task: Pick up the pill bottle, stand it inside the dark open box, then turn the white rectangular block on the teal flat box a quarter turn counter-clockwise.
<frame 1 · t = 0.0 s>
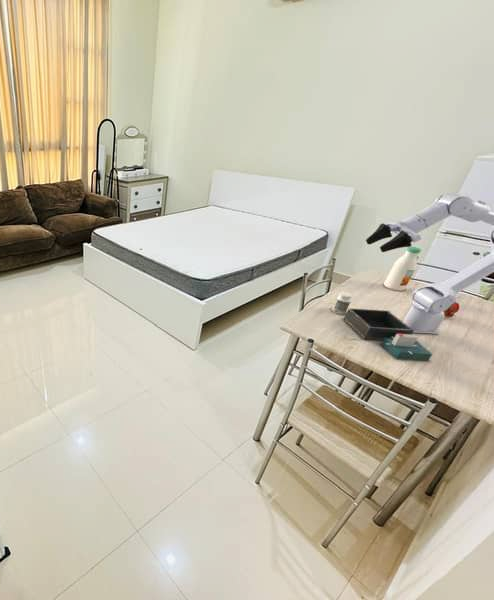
hand: (373, 246, 111), 32 cm above the table, tool tilted 50°, fingers open, 7 cm apart
white rectangular block: (404, 340, 109), point 5 cm above the table, hinge at 0.0°
teal flat box: (403, 352, 111), on the table
dark open box: (373, 330, 122), on the table
milk bottle: (393, 287, 154), on the table
dragon fruit: (438, 314, 133), on the table
pill bottle: (338, 311, 134), on the table
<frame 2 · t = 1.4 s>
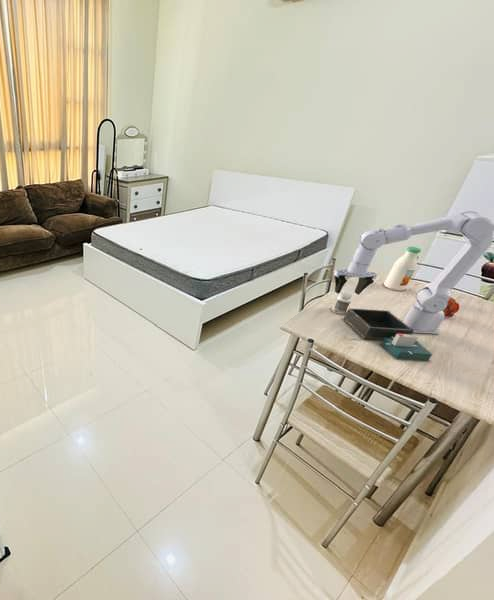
hand: (346, 292, 130), 9 cm above the table, tool pointing down, fingers open, 7 cm apart
nothing on the table moved.
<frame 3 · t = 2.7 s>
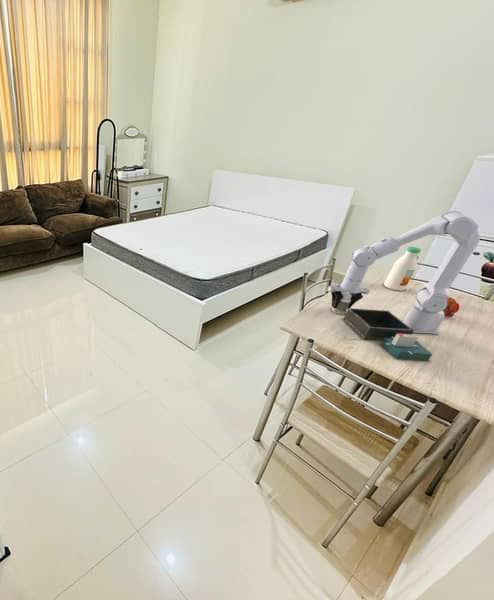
hand: (340, 307, 133), 2 cm above the table, tool pointing down, fingers closed on pill bottle, 5 cm apart
pill bottle: (338, 311, 134), on the table, touching gripper
everything else where it was.
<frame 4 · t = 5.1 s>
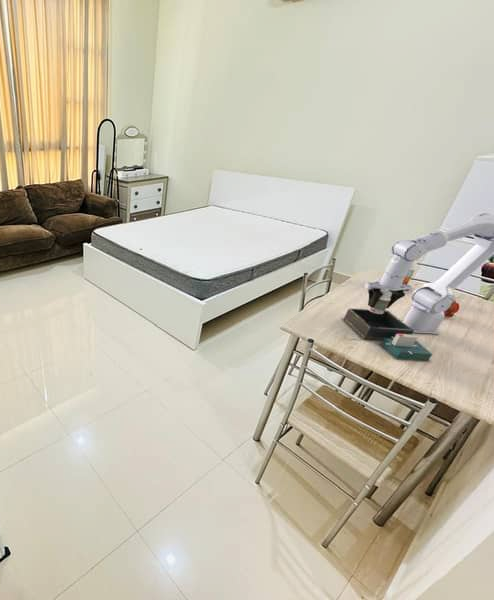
hand: (378, 306, 120), 9 cm above the table, tool pointing down, fingers closed on pill bottle, 5 cm apart
pill bottle: (375, 311, 121), point 7 cm above the table, touching gripper
everything else where it was.
when the fingers open (3 cm above the table, at t = 7.4 s): pill bottle stays where it is, resting on dark open box.
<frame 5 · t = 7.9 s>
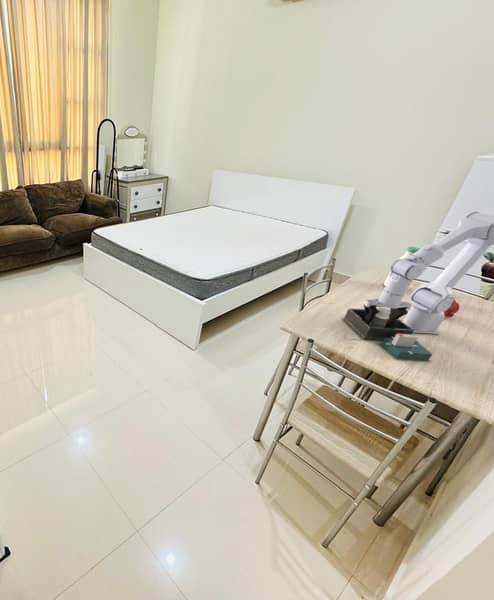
hand: (377, 323, 121), 3 cm above the table, tool pointing down, fingers open, 7 cm apart
pill bottle: (373, 329, 122), point 1 cm above the table, touching dark open box
everything else where it was.
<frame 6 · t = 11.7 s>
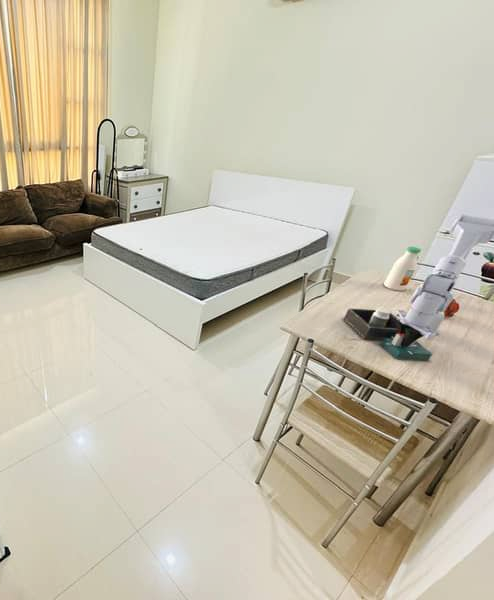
hand: (402, 343, 110), 3 cm above the table, tool pointing down, fingers closed on white rectangular block, 2 cm apart
white rectangular block: (404, 340, 109), point 5 cm above the table, hinge at -0.1°, touching gripper
everything else where it was.
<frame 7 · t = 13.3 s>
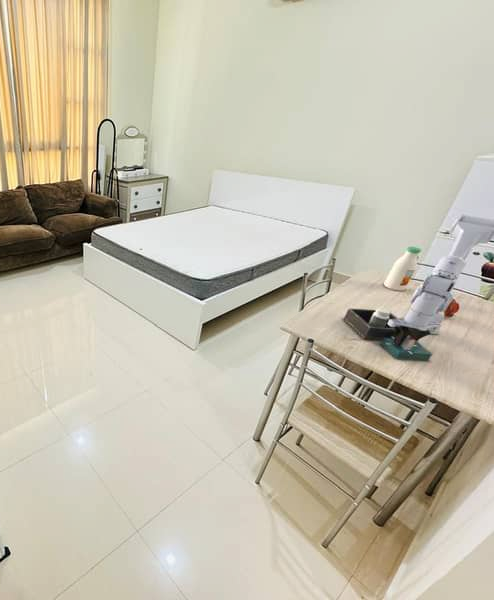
hand: (401, 344, 110), 3 cm above the table, tool pointing down, fingers open, 3 cm apart
white rectangular block: (404, 340, 109), point 5 cm above the table, hinge at 90.0°
everything else where it was.
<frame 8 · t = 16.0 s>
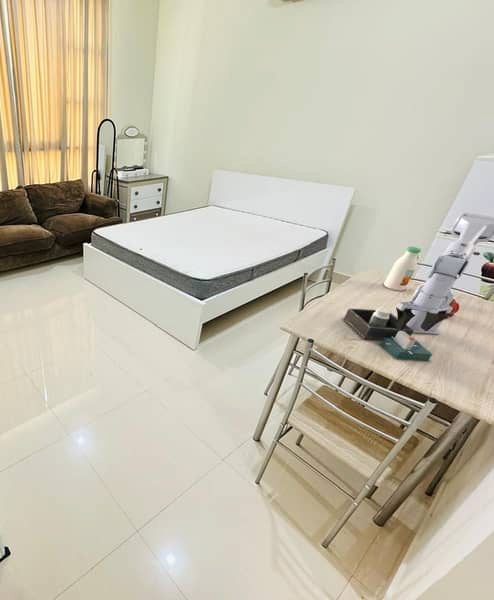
hand: (411, 328, 106), 10 cm above the table, tool pointing down, fingers open, 7 cm apart
nothing on the table moved.
at the end: pill bottle inside the target area in the dark open box (0.1 cm from its centre), point 0.6 cm above the dark open box's base; pill bottle tilted 0°; white rectangular block at +90° (first picture: +0°) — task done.
